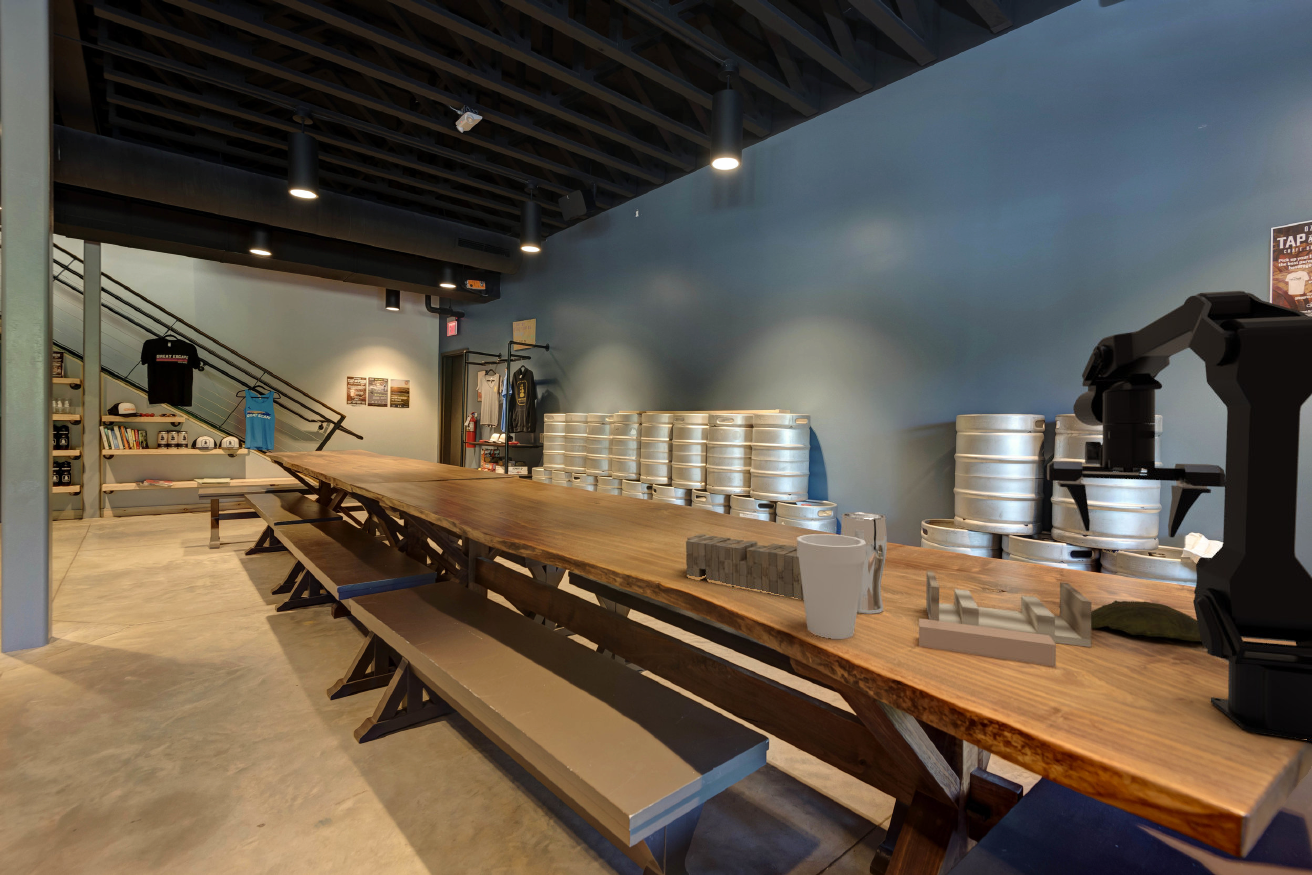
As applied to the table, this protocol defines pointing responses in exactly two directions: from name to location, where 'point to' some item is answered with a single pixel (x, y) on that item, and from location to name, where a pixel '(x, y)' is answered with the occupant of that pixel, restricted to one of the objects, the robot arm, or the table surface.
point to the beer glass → (869, 556)
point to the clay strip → (988, 642)
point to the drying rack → (1018, 614)
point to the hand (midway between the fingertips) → (1127, 533)
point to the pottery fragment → (1146, 620)
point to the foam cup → (831, 582)
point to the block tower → (745, 564)
